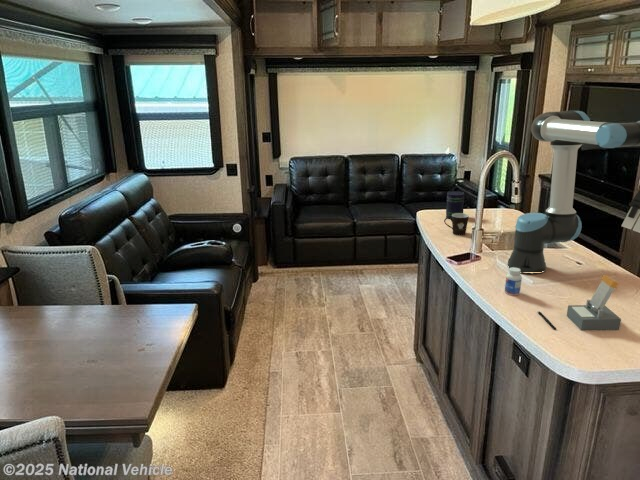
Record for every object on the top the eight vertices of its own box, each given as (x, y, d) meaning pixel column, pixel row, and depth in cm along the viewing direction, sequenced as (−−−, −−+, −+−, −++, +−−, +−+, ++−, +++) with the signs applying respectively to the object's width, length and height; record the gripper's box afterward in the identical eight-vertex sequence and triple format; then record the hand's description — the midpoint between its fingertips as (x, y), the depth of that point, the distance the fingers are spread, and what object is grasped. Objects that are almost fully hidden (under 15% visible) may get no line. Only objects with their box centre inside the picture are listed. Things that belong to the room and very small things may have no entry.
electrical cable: (536, 313, 164) (537, 310, 163) (539, 312, 164) (539, 310, 163) (553, 330, 152) (553, 327, 152) (556, 330, 152) (556, 327, 152)
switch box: (602, 315, 160) (605, 298, 158) (619, 330, 150) (622, 312, 148) (566, 315, 160) (569, 298, 158) (580, 330, 151) (583, 312, 149)
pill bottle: (501, 291, 180) (503, 268, 177) (512, 288, 182) (514, 265, 179) (512, 297, 175) (514, 273, 172) (523, 294, 177) (525, 270, 174)
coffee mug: (469, 232, 250) (470, 214, 247) (464, 236, 243) (466, 218, 240) (448, 229, 256) (449, 211, 253) (442, 233, 249) (443, 215, 246)
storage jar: (446, 219, 274) (447, 194, 269) (444, 215, 283) (446, 191, 278) (464, 220, 272) (465, 195, 267) (461, 215, 281) (463, 191, 276)
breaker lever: (591, 307, 157) (609, 276, 153) (600, 315, 151) (619, 283, 147) (586, 305, 156) (604, 274, 153) (594, 313, 151) (613, 281, 147)
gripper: (670, 162, 133) (634, 230, 138) (685, 177, 151) (653, 237, 155) (641, 155, 138) (608, 221, 143) (659, 170, 156) (629, 229, 161)
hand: (631, 230), depth 149 cm, fingers open, 13 cm apart
